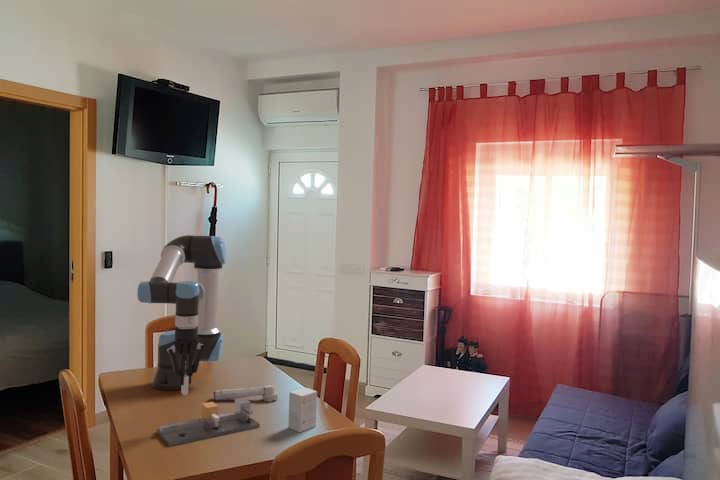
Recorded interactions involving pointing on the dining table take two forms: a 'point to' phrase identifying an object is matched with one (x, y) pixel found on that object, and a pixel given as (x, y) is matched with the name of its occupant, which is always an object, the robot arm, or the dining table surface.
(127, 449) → the dining table surface
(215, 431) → the bolt plate
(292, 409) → the small box
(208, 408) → the block
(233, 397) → the white elongated piece
